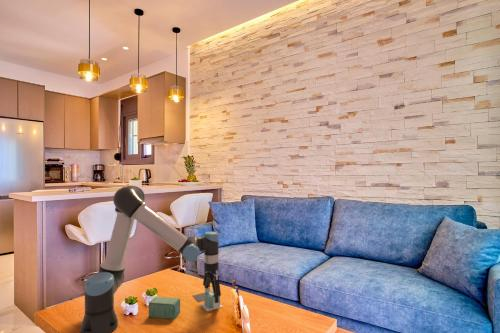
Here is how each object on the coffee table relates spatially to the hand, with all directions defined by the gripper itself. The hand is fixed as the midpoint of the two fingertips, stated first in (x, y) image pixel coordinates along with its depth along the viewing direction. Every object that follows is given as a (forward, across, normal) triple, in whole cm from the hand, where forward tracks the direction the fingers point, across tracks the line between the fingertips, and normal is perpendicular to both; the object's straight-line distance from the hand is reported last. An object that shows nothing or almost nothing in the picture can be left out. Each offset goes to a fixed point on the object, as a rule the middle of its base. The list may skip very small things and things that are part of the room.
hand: (211, 304), depth 153 cm
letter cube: (+1, 0, 0) cm, 1 cm away
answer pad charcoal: (+1, +12, 0) cm, 12 cm away
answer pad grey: (+1, 0, 0) cm, 1 cm away
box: (+1, +4, +23) cm, 24 cm away
